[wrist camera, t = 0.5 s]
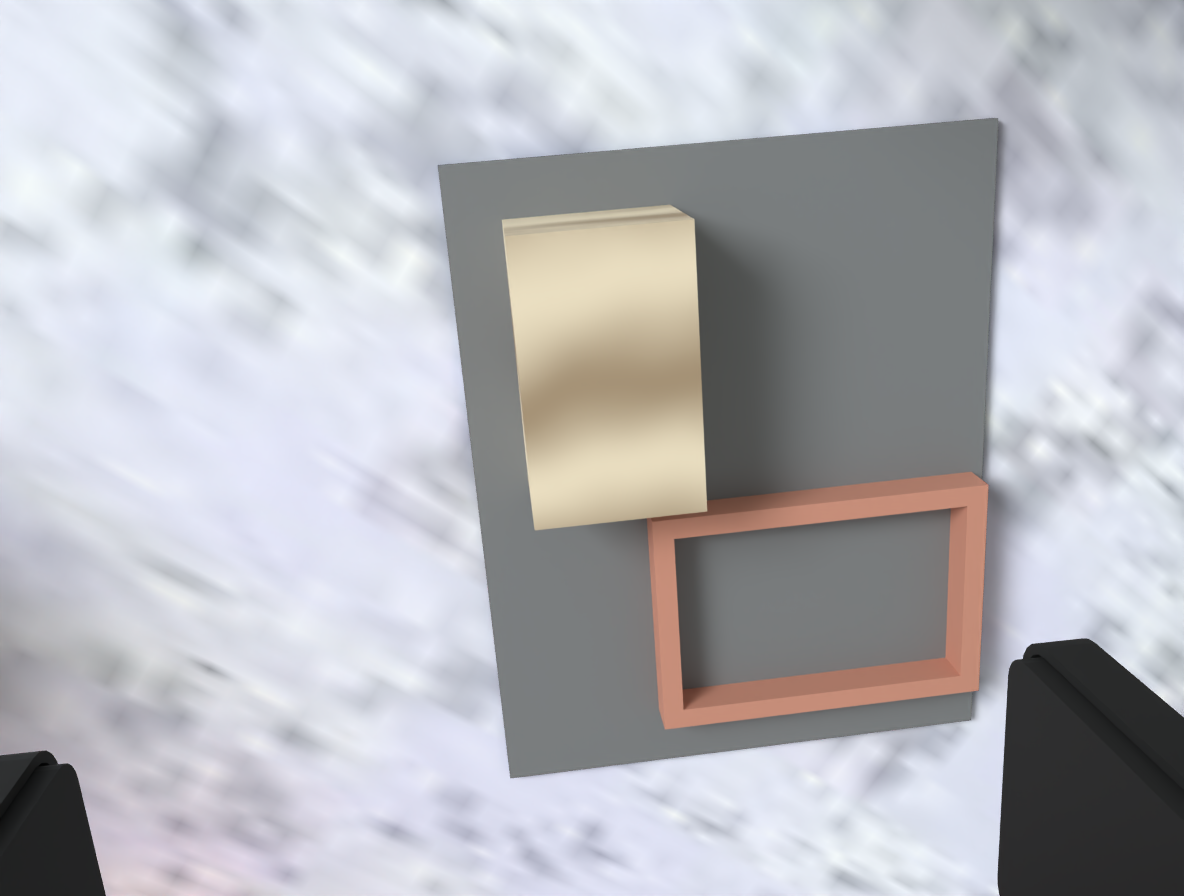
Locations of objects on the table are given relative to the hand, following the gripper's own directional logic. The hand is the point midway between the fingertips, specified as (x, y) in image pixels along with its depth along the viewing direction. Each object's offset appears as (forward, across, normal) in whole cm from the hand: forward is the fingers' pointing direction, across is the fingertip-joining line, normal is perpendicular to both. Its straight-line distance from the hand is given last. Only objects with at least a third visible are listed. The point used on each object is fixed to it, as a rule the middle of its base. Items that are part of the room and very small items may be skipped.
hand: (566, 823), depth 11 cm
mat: (+30, -8, +7) cm, 32 cm away
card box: (+30, -3, +1) cm, 30 cm away
